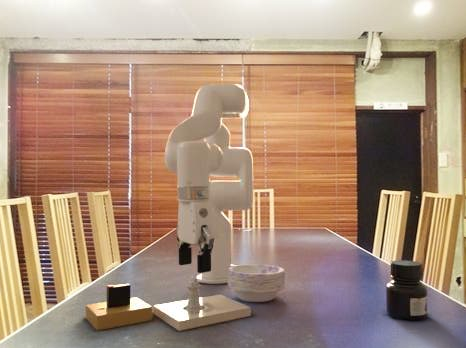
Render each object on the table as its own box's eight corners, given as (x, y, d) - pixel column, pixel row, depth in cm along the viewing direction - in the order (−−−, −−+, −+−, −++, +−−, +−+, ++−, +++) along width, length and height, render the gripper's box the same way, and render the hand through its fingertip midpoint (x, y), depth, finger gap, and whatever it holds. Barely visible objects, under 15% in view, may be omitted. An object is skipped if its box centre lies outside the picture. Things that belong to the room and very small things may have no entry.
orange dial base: (136, 309, 104) (136, 296, 104) (151, 320, 96) (151, 306, 96) (85, 318, 98) (85, 304, 98) (97, 330, 89) (97, 315, 90)
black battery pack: (128, 303, 99) (128, 282, 99) (130, 304, 98) (130, 283, 98) (106, 306, 96) (106, 285, 96) (108, 308, 95) (108, 286, 95)
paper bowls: (290, 293, 119) (290, 264, 119) (276, 308, 105) (276, 275, 105) (239, 289, 124) (239, 261, 124) (219, 303, 110) (218, 272, 110)
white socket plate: (220, 302, 110) (220, 294, 110) (250, 315, 99) (250, 307, 99) (153, 314, 101) (153, 305, 101) (178, 331, 89) (178, 321, 89)
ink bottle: (423, 324, 92) (422, 268, 92) (381, 317, 97) (381, 264, 97) (430, 312, 100) (430, 261, 101) (392, 307, 105) (391, 258, 105)
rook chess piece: (200, 320, 96) (199, 284, 96) (181, 318, 97) (181, 283, 97) (205, 314, 100) (205, 279, 100) (187, 313, 101) (187, 279, 101)
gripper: (226, 195, 94) (227, 273, 94) (191, 192, 109) (192, 260, 109) (196, 196, 90) (196, 277, 90) (164, 193, 104) (164, 263, 105)
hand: (194, 268), depth 99 cm, fingers open, 9 cm apart
